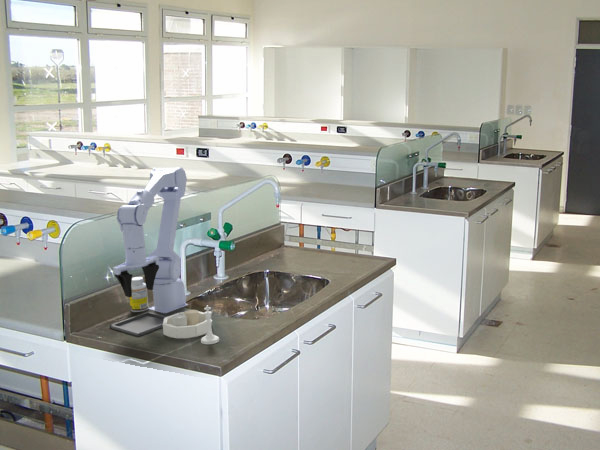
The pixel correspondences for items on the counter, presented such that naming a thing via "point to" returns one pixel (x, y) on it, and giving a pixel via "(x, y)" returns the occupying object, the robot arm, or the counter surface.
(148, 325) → the tray
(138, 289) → the supplement bottle
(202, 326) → the bowl
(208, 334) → the chess piece
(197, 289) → the counter surface
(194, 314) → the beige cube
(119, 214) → the robot arm
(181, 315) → the pebble grey
